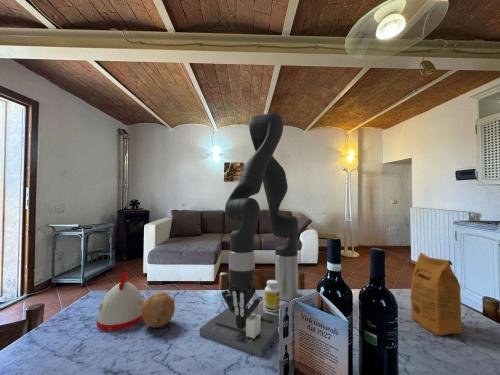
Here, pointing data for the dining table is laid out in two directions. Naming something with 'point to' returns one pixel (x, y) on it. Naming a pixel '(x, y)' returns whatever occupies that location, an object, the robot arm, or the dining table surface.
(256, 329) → the fader
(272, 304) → the supplement bottle
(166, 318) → the onion
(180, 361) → the dining table surface
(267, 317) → the console
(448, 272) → the coffee package
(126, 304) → the kitchen timer
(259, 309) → the fader
